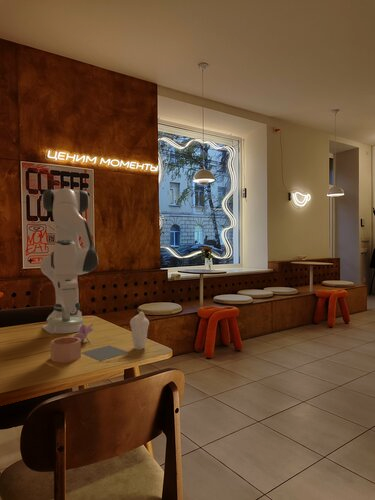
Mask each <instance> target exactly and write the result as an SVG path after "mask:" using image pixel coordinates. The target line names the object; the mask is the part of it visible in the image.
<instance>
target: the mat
mask: <svg viewBox="0 0 375 500" xmlns="http://www.w3.org/2000/svg"><path fill="white" fill-rule="evenodd" d="M129 353H130V351H127V350H124V349H121V348H118V347H116V346H112V345H110V344H109V345H105V346H102V347H101V346H100V347H98V348H94V349H91V350H86V351H82V352H81V355H85V356H87V357H89V358H91V359H95V360H97V361H99V362H101V361H105V360H108V359H112V358H115V357H119V356H122V354H123V355H126V354H129Z"/></svg>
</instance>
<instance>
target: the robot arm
mask: <svg viewBox="0 0 375 500" xmlns="http://www.w3.org/2000/svg"><path fill="white" fill-rule="evenodd" d="M90 201H91V199H90V196H89V194H88V192H87V191H86V190H83V189H79V190H78V189H71V188H69V187H68V188H67V187H65V188H60V189H51V188H50V189H45V190H44V191H43V193H42V196H41V204H42V206H43V209H44V210H46V211H48V212H52V220H53V221H54V224H55V225H54V230H55V231H54V236H55V237H54V238H55V239H54V240H55V244H54V249H53V252H51V253H50V255H46V256H44V257H42V259H41V261H40V265H39V267H40V268H39V269H40V271H41V272H42V274H43V275H44V276H46V277H47V278H48V279H49V280H51V282H52V284H53V287H54V292H55V303H54V304H53V311H52V312H51V313H50V314H49V315H48V316H47V318H46V320H45V321H46V324H45V325H42V329H43V330H45V331H46V332H47V333H49V334H52V335H53V334H72V333H73V334H74V333H76V332H78V333H79V329H80V327H81V325H82V324H83V323H81V324H78V325H74V326H64V327H56V326H50V325H48V321H49V320H52V319H56V318H62V310H64V318H66V319H67V318H69V317H79V318H82V319H83V316H82V314H83V313H82V311H80V306H81V304H80V302H79V300H80V296H79V295H80V294H79V292H80V291H79V290H80V289H79V282H78V276H81V275H84V274H88V273H91V272H93V271H94V270H95V269H97V267H98V265H99V256H98V253H97V250H96V248H95V244H94V241H93V238H92V237H93V236H92V234H91V229H90V227H89V226H90V225H89V223H88V221H87V219H86V218H85V217H82V215H81V214H82V213H84V212H86V211H87V210H89V206H90V203H91V202H90ZM79 236H80V237H81V241H82V245H83V247H81V244H80V240H79Z"/></svg>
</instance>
